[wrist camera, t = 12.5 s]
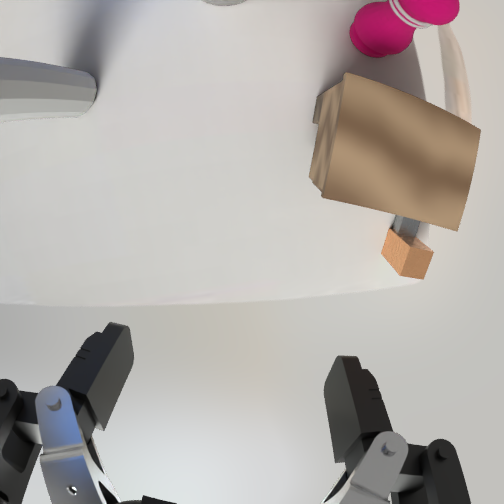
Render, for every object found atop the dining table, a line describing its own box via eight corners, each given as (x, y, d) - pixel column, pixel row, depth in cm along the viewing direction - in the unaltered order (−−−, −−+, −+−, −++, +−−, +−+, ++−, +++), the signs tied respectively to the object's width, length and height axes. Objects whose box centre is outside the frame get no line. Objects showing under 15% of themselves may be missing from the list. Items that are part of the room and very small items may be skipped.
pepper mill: (339, 15, 26) (397, -61, 8) (386, 17, 25) (465, -40, 7) (353, 61, 29) (432, 9, 11) (400, 61, 28) (495, 27, 10)
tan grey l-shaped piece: (405, 162, 34) (431, 170, 28) (427, 170, 34) (455, 179, 28) (381, 253, 39) (399, 275, 33) (402, 257, 39) (423, 279, 33)
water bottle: (101, 64, 30) (-37, 36, 7) (99, 115, 33) (-49, 127, 10) (54, 79, 30) (-75, 77, 7) (53, 126, 33) (-80, 151, 10)
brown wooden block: (315, 94, 31) (346, 72, 18) (415, 125, 32) (480, 129, 19) (300, 174, 36) (322, 199, 22) (399, 198, 36) (456, 232, 23)
